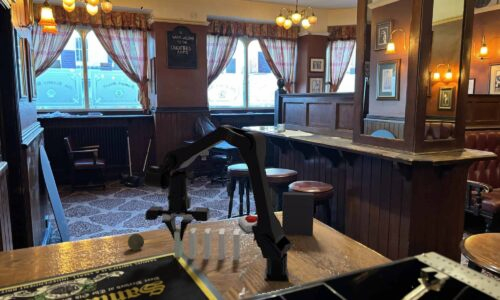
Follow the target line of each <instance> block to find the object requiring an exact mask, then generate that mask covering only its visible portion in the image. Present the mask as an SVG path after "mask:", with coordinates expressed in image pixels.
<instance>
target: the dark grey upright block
mask: <svg viewBox="0 0 500 300" xmlns="http://www.w3.org/2000/svg"><path fill="white" fill-rule="evenodd" d="M314 207H315V196H314V192H294V191H293V192H292V191H291V192H289V191H288V192H287V191H286V192H285V191H284V192H282V213H281V215H282V217H281V226H282V229H283V231H284V235H285V236H303V237H305V236H306V237H307V236H309V237H310V236H311V237H313V236H314V213H315V212H314Z"/></svg>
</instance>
